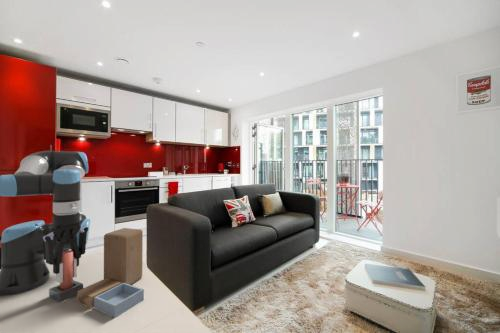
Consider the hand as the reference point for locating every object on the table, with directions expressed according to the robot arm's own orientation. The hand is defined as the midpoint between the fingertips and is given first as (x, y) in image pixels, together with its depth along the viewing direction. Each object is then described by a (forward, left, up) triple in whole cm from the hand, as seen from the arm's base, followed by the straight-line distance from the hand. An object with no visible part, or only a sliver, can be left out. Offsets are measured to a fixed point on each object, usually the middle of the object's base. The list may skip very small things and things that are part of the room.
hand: (66, 278), depth 80 cm
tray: (+22, +4, -6) cm, 23 cm away
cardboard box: (+12, +4, -6) cm, 14 cm away
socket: (0, 0, -6) cm, 6 cm away
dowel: (0, 0, -5) cm, 5 cm away
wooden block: (+10, +15, -6) cm, 19 cm away
